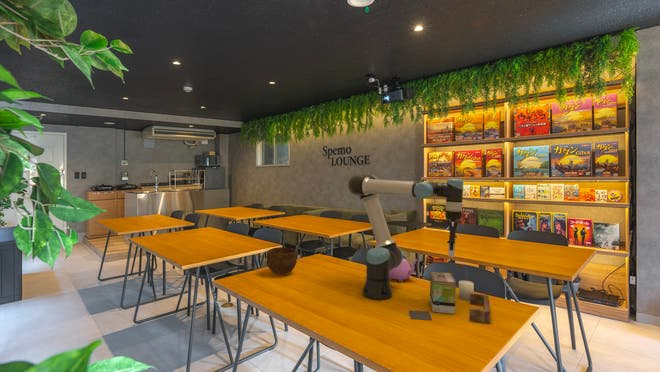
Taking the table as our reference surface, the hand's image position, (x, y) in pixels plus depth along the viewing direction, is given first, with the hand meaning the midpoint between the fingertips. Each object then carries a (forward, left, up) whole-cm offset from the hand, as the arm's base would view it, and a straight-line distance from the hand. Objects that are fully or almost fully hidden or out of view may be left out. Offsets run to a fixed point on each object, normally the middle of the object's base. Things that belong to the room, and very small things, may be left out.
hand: (451, 253), depth 165 cm
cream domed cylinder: (+7, +8, -24) cm, 26 cm away
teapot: (-30, +25, -24) cm, 46 cm away
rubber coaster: (-11, -23, -24) cm, 35 cm away
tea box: (-3, -9, -24) cm, 26 cm away
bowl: (-99, +5, -24) cm, 102 cm away
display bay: (+13, -9, -24) cm, 28 cm away
